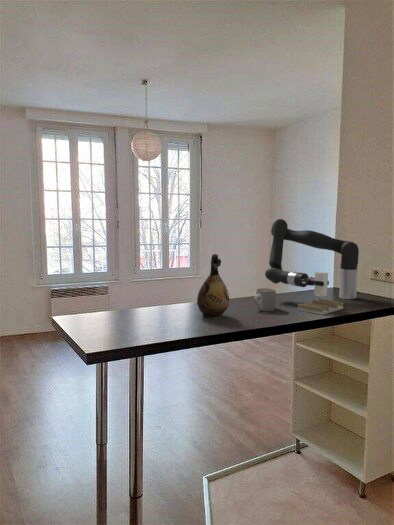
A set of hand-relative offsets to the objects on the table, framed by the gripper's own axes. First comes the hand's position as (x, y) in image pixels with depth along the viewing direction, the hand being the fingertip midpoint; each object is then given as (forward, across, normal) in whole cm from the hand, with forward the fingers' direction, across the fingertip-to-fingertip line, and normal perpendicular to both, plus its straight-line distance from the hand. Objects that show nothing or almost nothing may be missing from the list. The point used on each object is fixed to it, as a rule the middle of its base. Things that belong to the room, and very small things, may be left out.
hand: (325, 283), depth 205 cm
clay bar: (-3, 0, +7) cm, 7 cm away
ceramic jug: (-28, -52, +15) cm, 61 cm away
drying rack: (-2, 0, +14) cm, 14 cm away
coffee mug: (-22, -22, +14) cm, 35 cm away
